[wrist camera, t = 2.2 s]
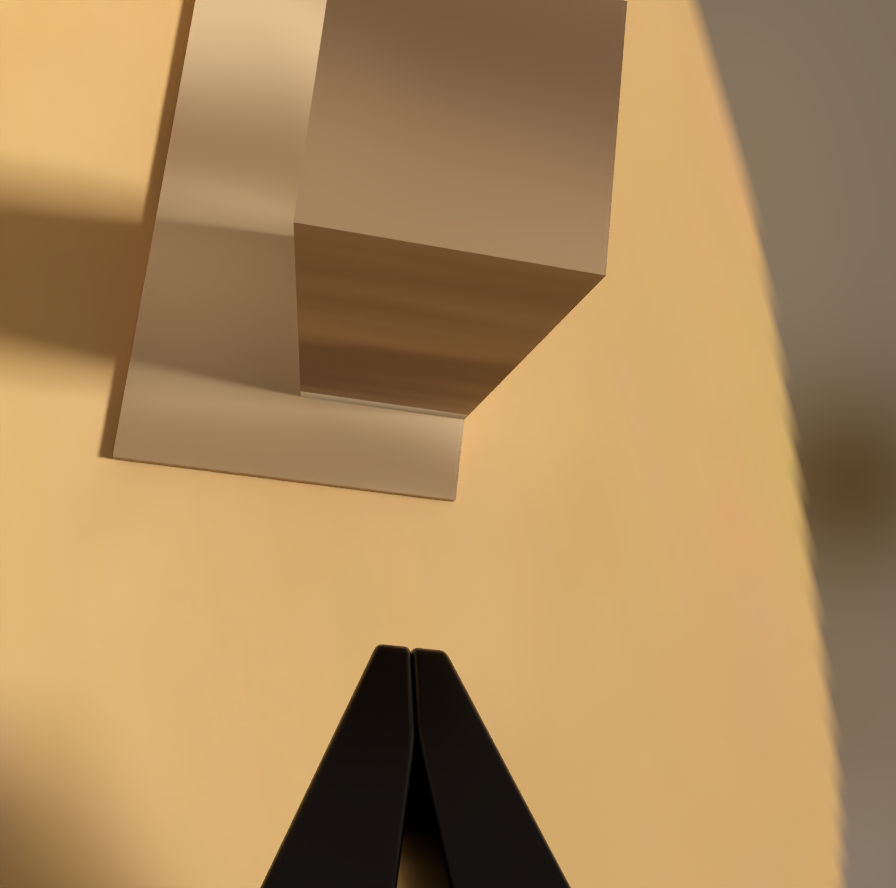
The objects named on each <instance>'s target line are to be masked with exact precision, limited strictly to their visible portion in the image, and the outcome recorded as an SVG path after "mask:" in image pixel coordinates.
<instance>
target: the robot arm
mask: <svg viewBox="0 0 896 888" xmlns="http://www.w3.org/2000/svg"><path fill="white" fill-rule="evenodd" d="M261 888H570V886H569V884H568V882H567V880H566V878H565V876H564V874H563V872H562V871H561V869H560V867H559V865H558V863H557V861H556V859H555V857H554V855H553V853H552V852H551V850H550V848H549V846H548V844H547V842H546V840H545V838H544V836H543V835H542V833H541V831H540V829H539V827H538V825H537V823H536V821H535V819H534V818H533V816H532V814H531V812H530V810H529V808H528V806H527V804H526V802H525V800H524V799H523V797H522V795H521V793H520V791H519V789H518V787H517V785H516V783H515V782H514V780H513V778H512V776H511V774H510V772H509V770H508V768H507V766H506V765H505V763H504V761H503V759H502V757H501V755H500V753H499V751H498V749H497V748H496V746H495V744H494V742H493V740H492V738H491V736H490V734H489V732H488V730H487V729H486V727H485V725H484V723H483V721H482V719H481V717H480V715H479V713H478V712H477V710H476V708H475V706H474V704H473V702H472V700H471V698H470V696H469V695H468V693H467V691H466V689H465V687H464V685H463V683H462V681H461V679H460V678H459V676H458V674H457V672H456V670H455V668H454V666H453V664H452V662H451V660H450V659H449V657H448V655H447V654H446V653H445V652H443V651H440V650H432V649H422V648H415V649H413V650H412V651H411V652H410V650H409V649H408V648H407V647H402V646H392V645H378V646H377V647H376V648H375V649H374V651H373V653H372V655H371V658H370V660H369V662H368V664H367V666H366V668H365V670H364V672H363V674H362V676H361V678H360V681H359V683H358V685H357V687H356V689H355V691H354V693H353V695H352V697H351V699H350V702H349V704H348V706H347V708H346V710H345V712H344V714H343V716H342V718H341V720H340V722H339V725H338V727H337V729H336V731H335V733H334V735H333V737H332V739H331V741H330V743H329V745H328V748H327V750H326V752H325V754H324V756H323V758H322V760H321V762H320V764H319V766H318V768H317V771H316V773H315V775H314V777H313V779H312V781H311V783H310V785H309V787H308V789H307V791H306V794H305V796H304V798H303V800H302V802H301V804H300V806H299V808H298V810H297V812H296V815H295V817H294V819H293V821H292V823H291V825H290V827H289V829H288V831H287V833H286V835H285V838H284V840H283V842H282V844H281V846H280V848H279V850H278V852H277V854H276V856H275V858H274V861H273V863H272V865H271V867H270V869H269V871H268V873H267V875H266V877H265V879H264V881H263V884H262V886H261Z"/></svg>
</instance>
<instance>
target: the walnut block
mask: <svg viewBox="0 0 896 888" xmlns="http://www.w3.org/2000/svg"><path fill="white" fill-rule="evenodd" d="M626 8H627V1H623V0H327V2H326V9H325V16H324V22H323V29H322V36H321V42H320V49H319V56H318V62H317V69H316V76H315V82H314V89H313V96H312V102H311V109H310V116H309V122H308V129H307V136H306V142H305V149H304V156H303V162H302V169H301V175H300V182H299V189H298V195H297V202H296V209H295V215H294V222H293V223H294V247H295V271H296V295H297V319H298V343H299V367H300V391H301V397H306V398H314V399H321V400H328V401H335V402H342V403H349V404H356V405H363V406H371V407H378V408H385V409H392V410H399V411H406V412H413V413H420V414H427V415H435V416H442V417H449V418H456V419H463V420H464V419H465V418H466V417H467V416H468V415H469V414H470V413H471V412H472V411H473V410H474V409H475V408H476V407H477V406H478V405H479V404H480V403H481V402H482V401H483V400H484V399H485V398H486V397H487V396H488V395H489V394H490V393H491V392H492V391H493V390H494V389H495V388H496V387H497V386H498V385H499V384H500V383H501V381H502V380H503V379H504V378H505V377H506V376H507V375H508V374H509V373H510V372H511V371H512V370H513V369H514V368H515V367H516V366H517V365H518V364H519V363H520V362H521V361H522V360H523V359H524V358H525V357H526V356H527V355H528V354H529V353H530V352H531V351H532V350H533V349H534V348H535V347H536V346H537V345H538V344H539V343H540V342H541V341H542V340H543V339H544V338H545V337H546V336H547V335H548V334H549V333H550V332H551V331H552V330H553V329H554V327H555V326H556V325H557V324H558V323H559V322H560V321H561V320H562V319H563V318H564V317H565V316H566V315H567V314H568V313H569V312H570V311H571V310H572V309H573V308H574V307H575V306H576V305H577V304H578V303H579V302H580V301H581V300H582V299H583V298H584V297H585V296H586V295H587V294H588V293H589V292H590V291H591V290H592V289H593V288H594V287H595V286H596V285H597V284H598V283H599V282H600V281H601V280H602V279H603V278H604V277H605V276H606V264H607V251H608V239H609V226H610V213H611V200H612V187H613V174H614V162H615V149H616V136H617V123H618V110H619V98H620V85H621V72H622V59H623V46H624V33H625V21H626Z"/></svg>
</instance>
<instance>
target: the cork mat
mask: <svg viewBox="0 0 896 888" xmlns="http://www.w3.org/2000/svg"><path fill="white" fill-rule="evenodd" d="M326 2H327V0H195V5H194V11H193V16H192V22H191V27H190V33H189V38H188V44H187V49H186V55H185V60H184V66H183V71H182V77H181V82H180V88H179V93H178V99H177V104H176V110H175V115H174V121H173V126H172V132H171V137H170V143H169V148H168V154H167V159H166V165H165V170H164V176H163V181H162V187H161V192H160V198H159V203H158V209H157V214H156V220H155V225H154V231H153V236H152V242H151V247H150V253H149V258H148V264H147V269H146V275H145V280H144V286H143V291H142V297H141V302H140V308H139V313H138V319H137V324H136V330H135V335H134V341H133V346H132V352H131V357H130V363H129V368H128V374H127V379H126V385H125V390H124V396H123V401H122V407H121V412H120V418H119V423H118V429H117V434H116V440H115V445H114V451H113V456H112V457H114V458H115V459H119V460H127V461H135V462H142V463H150V464H158V465H166V466H174V467H182V468H190V469H198V470H206V471H214V472H222V473H230V474H238V475H246V476H254V477H262V478H270V479H278V480H286V481H294V482H302V483H310V484H317V485H325V486H333V487H341V488H349V489H357V490H365V491H373V492H381V493H389V494H397V495H405V496H413V497H421V498H429V499H437V500H445V501H455V500H456V491H457V481H458V472H459V462H460V453H461V444H462V434H463V425H464V420H463V419H456V418H449V417H442V416H435V415H427V414H420V413H413V412H406V411H399V410H392V409H385V408H378V407H371V406H363V405H356V404H349V403H342V402H335V401H328V400H321V399H314V398H306V397H301V391H300V367H299V343H298V319H297V295H296V271H295V247H294V223H293V222H294V215H295V209H296V202H297V195H298V189H299V182H300V175H301V169H302V162H303V156H304V149H305V142H306V136H307V129H308V122H309V116H310V109H311V102H312V96H313V89H314V82H315V76H316V69H317V62H318V56H319V49H320V42H321V36H322V29H323V22H324V16H325V9H326Z"/></svg>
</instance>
